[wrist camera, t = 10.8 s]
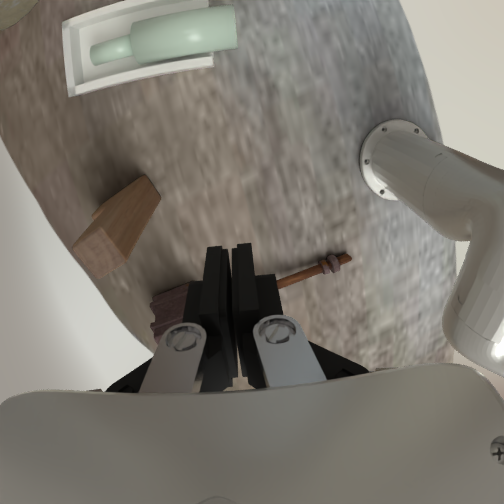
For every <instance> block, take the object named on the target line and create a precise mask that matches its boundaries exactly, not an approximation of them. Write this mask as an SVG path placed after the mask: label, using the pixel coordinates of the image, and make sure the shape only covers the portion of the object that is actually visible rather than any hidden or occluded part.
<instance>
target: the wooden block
mask: <svg viewBox="0 0 504 504" xmlns="http://www.w3.org/2000/svg"><path fill="white" fill-rule="evenodd" d="M160 200H161V197H160V195H159V194H158V192H157V191H156V189H155V188H154V186H153V185H152V183H151V182H150V181H149V179H148V178H147V176H146V175H143V176H141V177H140V178H138V179H137V180H135V181H134V182H132V183H131V184H130V185H128V186H127V187H125V188H124V189H122V190H121V191H120V192H118V193H117V194H115V195H114V196H113V197H111V198H110V199H109V200H107V201H106V202H104V203H103V204H102V205H101V206H100V207H99V208H98V209H97V210H96V211H95V212H94V213H93V214H92V219H93V220H94V221H93V222H92V224H91V225H90V226H89V227H88V228H87V229H86V230H85V232H84V233H83V234H82V235H81V236H80V237H79V239H78V240H77V241H76V242H75V243H74V245H73V247H72V249H73V251H74V252H75V253H76V254H77V256H78V257H79V258H80V259H81V261H82V262H83V263H84V264H85V266H86V267H87V268H88V269H89V270H90V272H91V273H92V274H93V275H94V276H95V278H97V279H99V278H101V277H103V276H105V275H106V274H108V273H109V272H111V271H113V270H114V269H116V268H118V267H119V266H121V265H122V264H124V263H126V261H127V260H128V258H129V256H130V254H131V252H132V250H133V248H134V246H135V245H136V243H137V241H138V239H139V237H140V235H141V234H142V232H143V230H144V228H145V226H146V225H147V223H148V221H149V219H150V218H151V216H152V214H153V212H154V211H155V209H156V207H157V205H158V204H159V202H160Z"/></svg>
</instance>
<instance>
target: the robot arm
mask: <svg viewBox="0 0 504 504" xmlns="http://www.w3.org/2000/svg"><path fill="white" fill-rule="evenodd" d="M382 128H383V130H382ZM414 129H415V131H414ZM365 159H366V161H365V162H364V160H365ZM360 170H361V173H362V177H363V179H364V181H365V183H366V184H367V186H368V187H369V188H370V189H371V190H372V191H373V192H374V193H375V194H377V195H378V196H380V197H382V198H384V199H387V200H393V201H396V200H400V201H401V202H403V203H404V204H405V205H406V206H408V207H409V208H410V209H411V210H412V211H414V212H415V213H416V214H417V215H418V216H419V217H421V218H422V219H423V220H424V221H425V222H426V223H428V224H429V225H430V226H431V227H432V228H434V229H435V230H436V231H437V232H438V233H439V234H441V235H442V236H444V237H446V238H448V239H450V240H454V241H470V245H469V247H468V251H467V253H466V257H465V260H464V262H463V265H462V267H461V270H460V272H459V275H458V277H457V280H456V282H455V284H454V287H453V289H452V291H451V294H450V296H449V299H448V301H447V303H446V306H445V309H444V312H443V317H442V328H443V332H444V334H445V337H446V339H447V340H448V342H449V343H450V344H451V346H452V347H453V348H454V349H455V350H456V351H458V352H459V353H460V354H461V355H463V356H464V357H466V358H467V359H469V360H470V361H472V362H474V363H476V364H477V365H479V366H481V367H483V368H485V369H487V370H489V371H491V372H493V373H495V374H497V375H499V376H502V377H504V170H502V169H499V168H496V167H494V166H491V165H489V164H487V163H484V162H482V161H479V160H477V159H475V158H473V157H470V156H468V155H466V154H464V153H461V152H459V151H456V150H454V149H451V148H449V147H447V146H444V145H442V144H440V143H437V142H434V141H432V140H429V139H428V137H427V136H426V134H425V133H424V132H423V130H422V129H421V128H420V127H418V126H417V125H415V124H414V123H411V122H409V121H405V120H400V119H393V120H388V121H385V122H383V123H381V124H379V125H378V126H376V127H375V128H374V129H373V130H372V131H371V132H370V133H369V134H368V136H367V137H366V139H365V141H364V143H363V145H362V149H361V153H360ZM380 190H381V191H380ZM237 346H238V352H239V358H240V364H241V370H242V376H243V377H248V383H249V384H250V385H251V386H253V387H254V388H256V389H249V390H236V391H223V390H225V389H226V388H227V387H233V381H232V378H236V377H238V359H237ZM0 504H504V400H503V399H502V397H501V396H500V394H499V393H498V391H497V390H496V389H495V387H494V386H493V385H492V384H491V382H490V381H489V380H488V379H487V378H486V377H485V376H484V375H483V374H481V373H480V372H479V371H477V370H476V369H474V368H471V367H468V366H465V365H460V364H452V363H425V364H417V365H409V366H404V367H397V368H376V370H375V371H368V370H367V369H366V368H364V367H363V366H361V365H359V364H357V363H355V362H353V361H350V360H348V359H346V358H344V357H342V356H340V355H337V354H335V353H333V352H331V351H329V350H327V349H325V348H322V347H320V346H318V345H316V344H314V343H312V342H310V341H308V340H307V338H306V336H305V334H304V332H303V330H302V328H301V326H300V324H299V323H298V322H297V321H296V320H295V319H293V318H292V317H289V316H286V315H283V310H282V306H281V301H280V296H279V291H278V286H277V281H276V277H275V274H268V275H258V276H255V272H254V263H253V254H252V246H251V243H244V244H237V248H232V276H231V269H230V262H229V254H228V249H222V246H214V247H207V253H206V261H205V268H204V275H203V281H194V282H190V283H189V286H188V292H187V297H186V303H185V308H184V314H183V320H182V323H180V324H177V325H174V326H172V327H170V328H169V329H168V330H167V331H165V332H164V334H163V335H162V337H161V339H160V342H159V344H158V346H157V349H156V351H155V354H154V356H153V357H152V358H151V359H149V360H148V361H146V362H145V363H143V364H142V365H140V366H139V367H138V368H136V369H134V370H133V371H131V372H130V373H129V374H127V375H126V376H124V377H122V378H121V379H119V380H118V381H116V382H115V383H113V384H112V385H111V386H110V387H109V388H108V389H107V390H106V391H105V392H103V391H102V390H101V389H96V390H89V391H74V390H35V391H28V392H24V393H21V394H17V395H15V396H12V397H10V398H8V399H6V400H5V401H4V402H2V403H1V405H0Z"/></svg>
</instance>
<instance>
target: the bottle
mask: <svg viewBox="0 0 504 504" xmlns="http://www.w3.org/2000/svg"><path fill="white" fill-rule="evenodd" d="M230 49H238V45H237V33H236V23H235V14H234V7H233V4H232V5H223V6H214V7H207V8H200V9H193V10H187V11H182V12H176V13H171V14H166V15H162V16H157V17H153V18H148V19H144V20H140V21H136V22H133V23H132V25H131V29H130V34H129V35H125V36H121V37H118V38H115V39H111V40H108V41H105V42H102V43H98V44H95V45H92V46H91V47H90V59H91V62H92V64H93V65H94V66H98V65H101V64H104V63H108V62H111V61H114V60H118V59H122V58H125V57H129V56H133V55H134V57H135V59H136V61H137V63H138V64H139V65H142V64H146V63H151V62H155V61H160V60H165V59H170V58H175V57H181V56H187V55H193V54H199V53H206V52H213V51H221V50H230Z"/></svg>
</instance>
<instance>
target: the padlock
mask: <svg viewBox="0 0 504 504" xmlns="http://www.w3.org/2000/svg"><path fill="white" fill-rule="evenodd" d="M38 1H39V0H0V30H5V29H7V28H8V27H10V26H12V25H14V24H16V23H17V22H18V21H19V20H20V19H21V18H22V17H24V16H25V15H26V14H27V13H28V12H30V10H31V9H32V8H33V7H34V6H35V4H36V3H37V2H38Z"/></svg>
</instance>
